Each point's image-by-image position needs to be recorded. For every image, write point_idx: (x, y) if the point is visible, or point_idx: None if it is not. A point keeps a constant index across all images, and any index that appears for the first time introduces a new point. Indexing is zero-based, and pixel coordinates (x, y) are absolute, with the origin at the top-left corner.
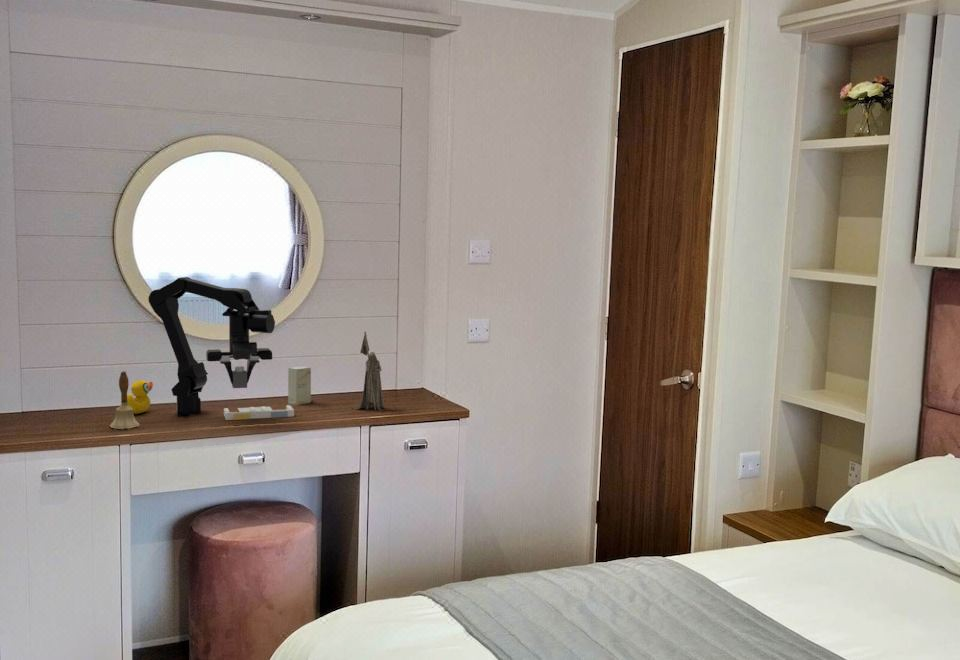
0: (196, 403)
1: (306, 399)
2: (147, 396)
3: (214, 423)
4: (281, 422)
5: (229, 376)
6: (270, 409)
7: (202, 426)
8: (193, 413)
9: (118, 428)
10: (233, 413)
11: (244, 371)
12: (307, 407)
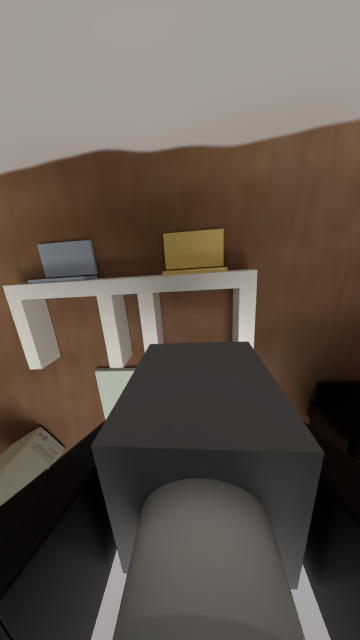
0: (350, 422)
1: (7, 452)
2: None
3: (292, 250)
4: (62, 221)
5: (329, 440)
6: (103, 392)
7: (348, 202)
8: (339, 390)
9: None
10: (227, 271)
11: (134, 522)
12: (14, 412)
